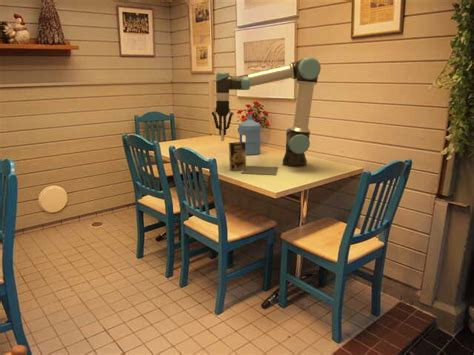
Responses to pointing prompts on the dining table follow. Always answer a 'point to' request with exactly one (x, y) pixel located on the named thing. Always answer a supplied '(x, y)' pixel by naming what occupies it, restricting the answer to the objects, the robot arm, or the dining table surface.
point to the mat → (260, 170)
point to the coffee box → (237, 156)
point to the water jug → (251, 135)
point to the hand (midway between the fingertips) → (222, 140)
